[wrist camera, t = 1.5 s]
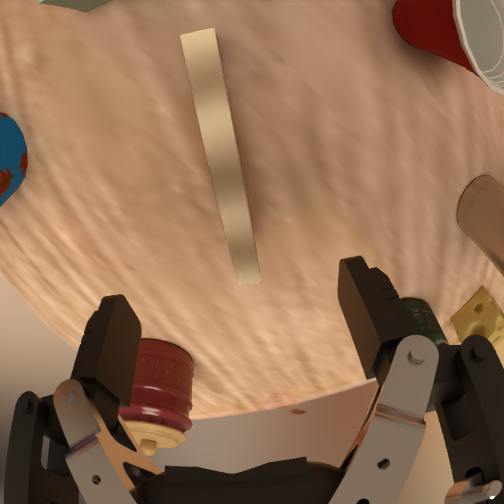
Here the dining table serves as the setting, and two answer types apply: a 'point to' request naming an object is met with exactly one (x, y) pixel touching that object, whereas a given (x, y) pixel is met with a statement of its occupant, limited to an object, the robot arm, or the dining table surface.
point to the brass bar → (222, 149)
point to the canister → (160, 396)
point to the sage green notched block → (75, 3)
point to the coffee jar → (425, 326)
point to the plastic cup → (458, 33)
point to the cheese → (480, 318)
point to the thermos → (11, 157)
